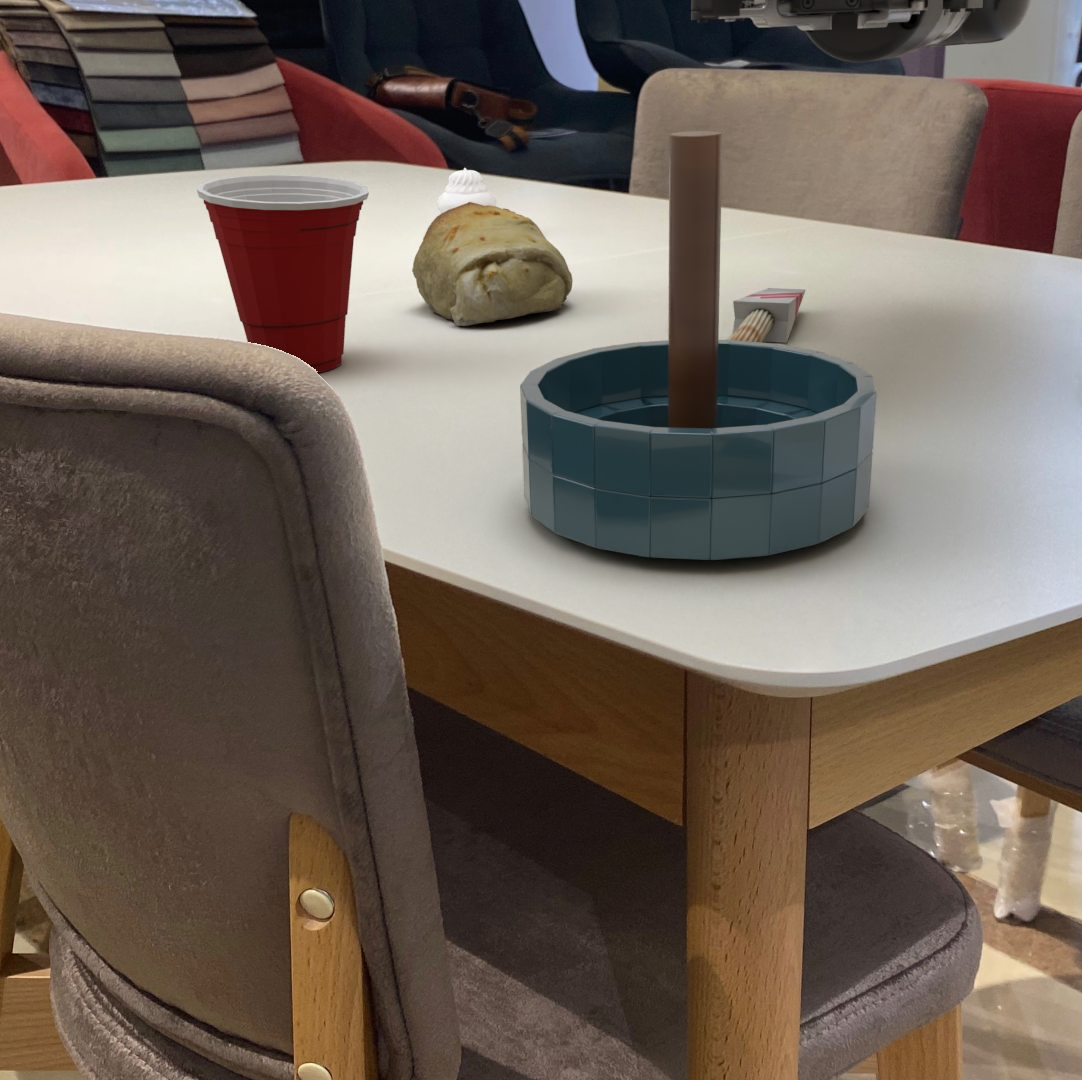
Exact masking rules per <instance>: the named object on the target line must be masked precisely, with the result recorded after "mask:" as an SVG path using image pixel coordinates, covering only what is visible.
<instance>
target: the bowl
mask: <svg viewBox="0 0 1082 1080" xmlns="http://www.w3.org/2000/svg"><path fill="white" fill-rule="evenodd" d="M519 392H520V393H519V394H520V395H519V397H520V414H521V415H520V417H521V418H520V419H521V422H520V423H521V442H522V466H523V467H522V468H523V494H524V495H523V496H524V499H525V502H526V505H527V508H528V511H529V514H530V516H531V517H532V518H534V519H535V520H536V521H538V522H539V523H541V524H542V525H544V526H545V527H546V528H547V529H549V531H551V532H552V533H554V534H555V535H558V536H561V537H564V538H566V539H570V540H572V541H576V542H578V543H581V544H583V545H586V546H589V547H591V548H594V549H598V550H604V551H610V552H615V553H621V554H626V555H633V556H638V557H644V558H652V559H657V558H658V559H674V560H699V561H700V560H701V561H720V560H732V559H745V558H754V557H756V558H757V557H767V556H773V555H777V554H781V553H785V552H790V551H794V550H798V549H803V548H808V547H812V546H815V545H818V544H821V543H824V542H826V541H827V540H830V539H832V538H834V537H836V536H838V535H840V534H842V533H844V532H847V531H849V530H851V529H852V528H854V527H855V526H856V525H857V523H859V521H860V520H861V519H862V517H863V516H864V515H865V514H866V512H867V511H868V510H869V508H870V498H871V483H872V468H873V467H872V466H873V454H874V453H873V450H874V439H875V438H874V437H875V425H876V423H875V422H876V410H877V409H876V408H877V394H878V393H877V388H876V382H875V377H874V376H873V375H871V374H870V373H869V372H868V371H866V370H864V369H863V368H861V367H860V366H859V365H858V364H855V363H854V362H852V361H849V360H846V359H844V358H840V357H838V356H834V355H832V354H828V353H825V352H822V351H817V350H812V349H807V348H801V347H796V346H790V345H785V344H778V343H772V342H761V343H760V342H749V341H737V340H729V339H718V389H717V428H712V429H706V428H668V339H667V340H654V341H653V340H649V341H637V342H627V343H622V344H614V345H609V346H608V345H607V346H601V347H595V348H589V349H587V350H582V351H579V352H575V353H571V354H568V355H565V356H561V357H557V358H555V359H552V360H550V361H548V362H546V363H544V364H542V365H540V366H539V367H536V368H534V369H532V370H530V371H529V373H528V374H527V375H526V377H525V378H524V379H523V381H522V382H521V383H520V385H519Z"/></svg>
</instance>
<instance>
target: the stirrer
mask: <svg viewBox="0 0 1082 1080" xmlns="http://www.w3.org/2000/svg"><path fill="white" fill-rule="evenodd" d="M723 134H724V133H723V132H721V131H715V130H712V131H711V130H690V131H677V132H672V133H670V134H669V137H668V138H669V139H668V141H669V142H668V144H669V146H668V149H669V151H668V152H669V153H668V154H669V157H668V159H669V162H668V163H669V164H668V169H669V170H668V184H669V185H668V335H667V336H668V339H667V340H668V428H706V429H712V428H717V389H718V340H719V335H720V334H719V330H720V329H719V328H720V286H721V284H720V281H721V280H720V279H721V238H722V237H721V231H722V228H721V227H722V187H723V185H722V182H723V181H722V179H723V177H722V176H723V172H722V171H723Z"/></svg>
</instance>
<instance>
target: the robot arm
mask: <svg viewBox="0 0 1082 1080" xmlns="http://www.w3.org/2000/svg"><path fill="white" fill-rule="evenodd" d="M1031 3H1032V0H690V10H691V11H690V21H697V24H706V23H708V20H724V22H725V23H729V22H730V23H731V22H732V23H733V22H745V19H750V20H752V21H751V22H752V23H753V25H754V26H755V27H757V28H784V27H785V28H786V27H797V28H798V29H799V30H800V31H804V32H805V34H806V35H807V37H808V38H809V39H810V41H811V42H812V43H813V44H814V45H815V46H816V47H817V48H818V49H819V50H821V51H822V52H824V53H825V54H826V55H828V56H830V57H832V58H834V59H837V60H840V61H843V62H848V63H858V64H859V63H869V62H875V61H876V62H877V61H882V60H889V59H896V58H901V57H905V56H908V55H910V54H913V53H915V52H918V51H919V50H924V49H928V48H936V47H937V48H938V47H948V46H960V45H961V46H962V45H979V44H990V43H991V44H992V43H995V42H1000V41H1003V40H1006V39H1007V38H1009V37H1011V36H1012V35H1013V34H1014V33H1015V32H1016V31H1017V30H1018V29H1019V28H1020V27H1021V25H1022V24H1023V22H1024V20H1025V18H1026V17H1027V15H1028V12H1029V10H1030V6H1031Z"/></svg>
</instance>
